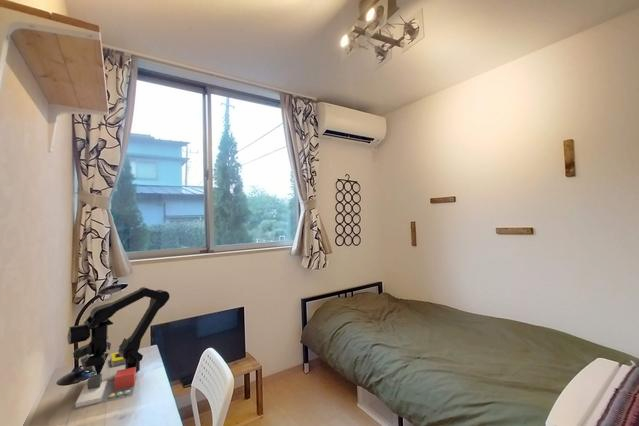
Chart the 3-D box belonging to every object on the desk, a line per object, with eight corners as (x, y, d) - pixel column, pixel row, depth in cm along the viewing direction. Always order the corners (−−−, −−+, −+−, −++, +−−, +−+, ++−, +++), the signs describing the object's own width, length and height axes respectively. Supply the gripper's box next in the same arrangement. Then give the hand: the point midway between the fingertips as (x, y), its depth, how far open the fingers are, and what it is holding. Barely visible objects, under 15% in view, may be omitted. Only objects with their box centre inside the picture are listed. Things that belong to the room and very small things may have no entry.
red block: (116, 382, 127) (117, 370, 127) (135, 378, 130) (135, 366, 130) (114, 389, 121) (114, 377, 121) (134, 385, 124) (134, 373, 124)
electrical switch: (96, 373, 136) (94, 353, 136) (81, 378, 134) (79, 357, 134) (98, 365, 144) (96, 346, 144) (84, 369, 142) (82, 350, 142)
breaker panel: (82, 390, 122) (82, 383, 123) (136, 379, 131) (136, 372, 131) (70, 413, 107) (70, 405, 107) (132, 398, 116) (132, 391, 116)
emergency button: (131, 345, 158) (135, 355, 147) (131, 354, 158) (134, 364, 146) (110, 350, 153) (112, 360, 141) (110, 359, 153) (112, 370, 141)
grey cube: (89, 384, 121) (90, 375, 121) (101, 382, 123) (102, 373, 123) (87, 389, 118) (87, 380, 118) (99, 386, 120) (100, 377, 120)
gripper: (81, 333, 132) (80, 369, 131) (69, 348, 115) (68, 389, 115) (111, 329, 137) (110, 363, 136) (104, 343, 120) (103, 382, 120)
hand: (98, 374), depth 127 cm, fingers closed
